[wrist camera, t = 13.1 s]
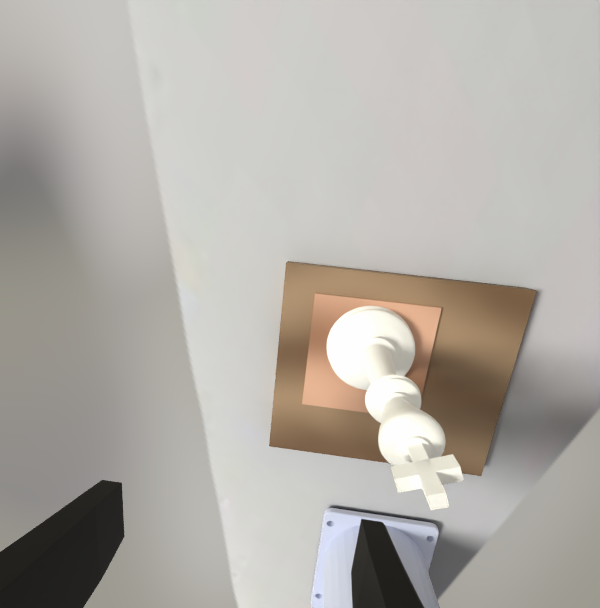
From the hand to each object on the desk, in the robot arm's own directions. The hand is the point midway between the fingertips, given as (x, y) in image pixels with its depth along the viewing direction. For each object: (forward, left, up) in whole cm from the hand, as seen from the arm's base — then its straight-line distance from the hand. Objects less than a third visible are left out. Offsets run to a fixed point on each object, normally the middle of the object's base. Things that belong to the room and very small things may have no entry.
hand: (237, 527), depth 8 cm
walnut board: (+1, -7, -10) cm, 12 cm away
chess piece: (+3, -5, -9) cm, 11 cm away
